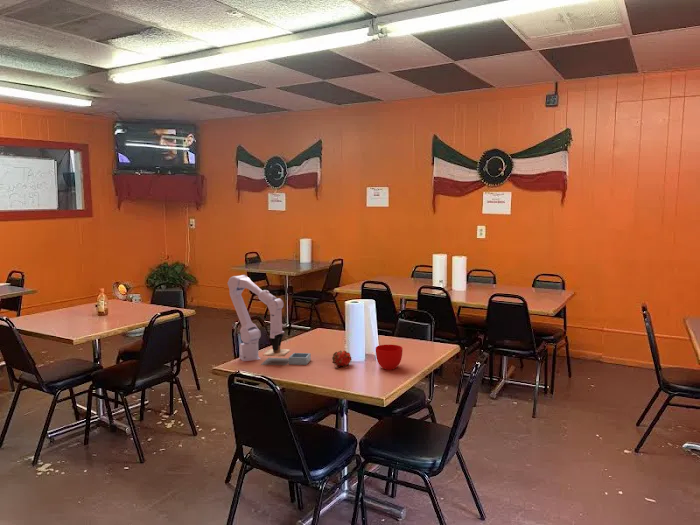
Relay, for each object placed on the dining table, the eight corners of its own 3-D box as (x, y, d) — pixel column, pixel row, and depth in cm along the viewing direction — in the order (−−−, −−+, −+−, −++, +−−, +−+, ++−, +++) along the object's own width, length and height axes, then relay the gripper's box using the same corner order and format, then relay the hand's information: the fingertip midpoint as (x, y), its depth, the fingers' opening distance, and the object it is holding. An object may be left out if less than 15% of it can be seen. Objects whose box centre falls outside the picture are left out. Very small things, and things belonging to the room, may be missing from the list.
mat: (260, 365, 270) (260, 364, 270) (268, 358, 283) (268, 357, 283) (286, 366, 268) (285, 365, 268) (292, 359, 281) (292, 358, 281)
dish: (288, 365, 270) (288, 357, 269) (293, 360, 279) (293, 352, 278) (306, 365, 268) (306, 357, 268) (310, 361, 277) (310, 353, 277)
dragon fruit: (331, 371, 264) (348, 370, 272) (341, 363, 259) (359, 362, 267) (325, 355, 267) (343, 354, 276) (336, 347, 262) (353, 347, 271)
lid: (262, 355, 270) (262, 348, 270) (269, 350, 281) (269, 343, 281) (284, 356, 269) (284, 348, 268) (290, 350, 280) (290, 343, 279)
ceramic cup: (410, 364, 269) (410, 344, 268) (395, 373, 254) (395, 352, 253) (386, 361, 275) (386, 341, 274) (370, 369, 261) (370, 349, 260)
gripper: (279, 325, 266) (280, 353, 267) (287, 320, 280) (288, 346, 281) (265, 325, 267) (266, 352, 268) (274, 319, 281) (274, 345, 282)
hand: (276, 349), depth 275 cm, fingers closed on lid, 4 cm apart
